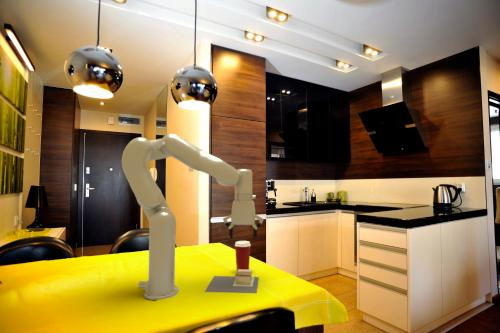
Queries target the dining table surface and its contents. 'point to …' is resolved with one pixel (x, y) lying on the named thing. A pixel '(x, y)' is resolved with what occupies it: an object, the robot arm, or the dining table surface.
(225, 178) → the robot arm
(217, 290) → the mat
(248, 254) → the paper cup
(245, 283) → the card box
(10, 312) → the dining table surface
